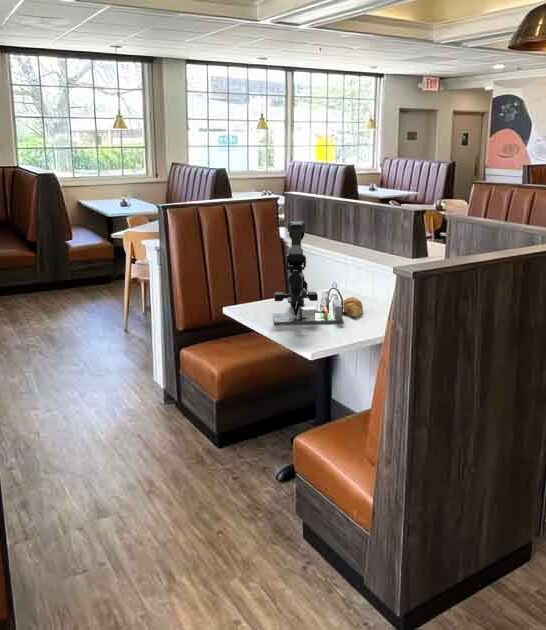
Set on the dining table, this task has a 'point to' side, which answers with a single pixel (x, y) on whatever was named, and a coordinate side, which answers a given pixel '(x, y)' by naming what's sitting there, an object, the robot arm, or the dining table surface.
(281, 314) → the gauge board
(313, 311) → the threaded rod block
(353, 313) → the croissant
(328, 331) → the dining table surface
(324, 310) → the bar
